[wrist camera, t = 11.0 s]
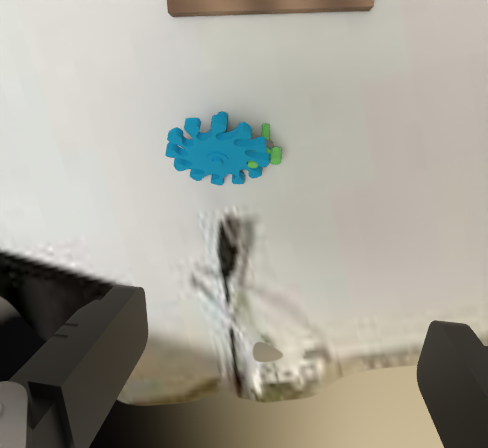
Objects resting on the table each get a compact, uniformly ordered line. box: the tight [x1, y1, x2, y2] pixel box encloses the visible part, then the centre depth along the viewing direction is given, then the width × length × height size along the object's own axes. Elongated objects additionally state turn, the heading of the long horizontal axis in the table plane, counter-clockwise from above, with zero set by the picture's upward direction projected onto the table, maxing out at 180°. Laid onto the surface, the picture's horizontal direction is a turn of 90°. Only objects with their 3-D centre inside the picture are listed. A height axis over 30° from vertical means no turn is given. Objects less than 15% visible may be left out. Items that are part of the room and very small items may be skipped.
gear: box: [166, 112, 282, 185], centre depth 33 cm, size 11×6×10 cm
